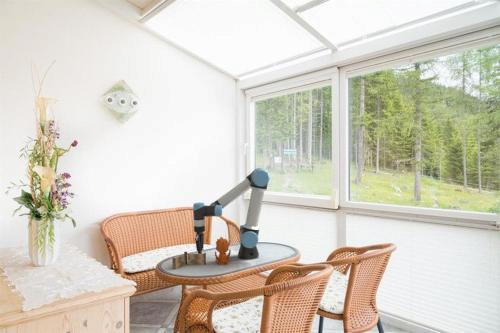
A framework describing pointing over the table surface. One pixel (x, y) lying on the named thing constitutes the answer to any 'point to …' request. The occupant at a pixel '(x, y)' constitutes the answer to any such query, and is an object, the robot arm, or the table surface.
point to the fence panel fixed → (179, 261)
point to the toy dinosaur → (222, 251)
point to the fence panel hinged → (197, 259)
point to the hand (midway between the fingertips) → (200, 259)
